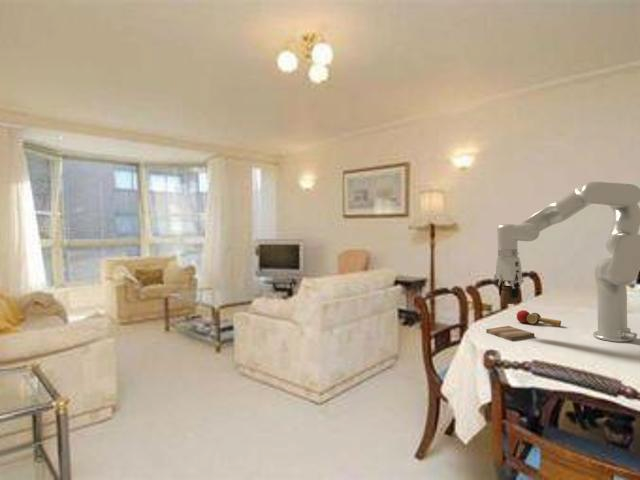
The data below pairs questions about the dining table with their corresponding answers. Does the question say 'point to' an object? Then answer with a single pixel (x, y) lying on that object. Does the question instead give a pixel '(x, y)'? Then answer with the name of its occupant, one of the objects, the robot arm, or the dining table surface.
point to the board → (510, 333)
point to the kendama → (535, 318)
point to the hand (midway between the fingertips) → (508, 296)
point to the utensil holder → (507, 295)
